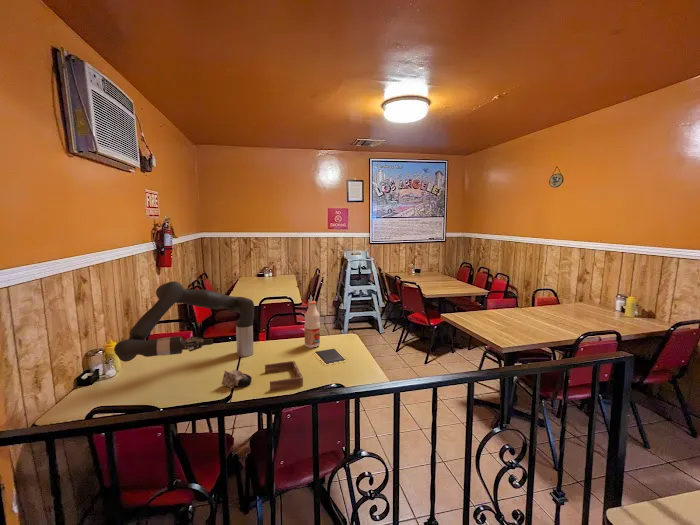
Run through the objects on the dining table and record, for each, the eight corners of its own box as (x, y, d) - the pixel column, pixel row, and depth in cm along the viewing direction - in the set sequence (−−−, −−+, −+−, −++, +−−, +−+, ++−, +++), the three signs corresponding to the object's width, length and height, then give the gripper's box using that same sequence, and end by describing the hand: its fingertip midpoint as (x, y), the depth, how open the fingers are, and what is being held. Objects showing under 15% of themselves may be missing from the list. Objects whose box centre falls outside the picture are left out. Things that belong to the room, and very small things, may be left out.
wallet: (348, 359, 190) (322, 363, 184) (348, 362, 190) (322, 367, 184) (335, 346, 208) (311, 350, 202) (335, 349, 209) (311, 353, 203)
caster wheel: (252, 386, 166) (240, 393, 157) (234, 378, 170) (220, 384, 160) (256, 373, 166) (243, 379, 156) (237, 365, 169) (224, 370, 160)
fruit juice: (306, 342, 218) (306, 299, 214) (320, 343, 218) (320, 300, 214) (303, 348, 209) (303, 303, 205) (318, 348, 208) (318, 303, 205)
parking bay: (265, 372, 176) (264, 364, 176) (294, 367, 182) (294, 360, 181) (270, 390, 157) (270, 382, 157) (302, 385, 163) (302, 377, 162)
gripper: (167, 343, 143) (212, 338, 149) (171, 332, 155) (212, 329, 161) (168, 360, 144) (212, 354, 150) (172, 348, 156) (213, 344, 162)
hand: (212, 341), depth 155 cm, fingers closed
